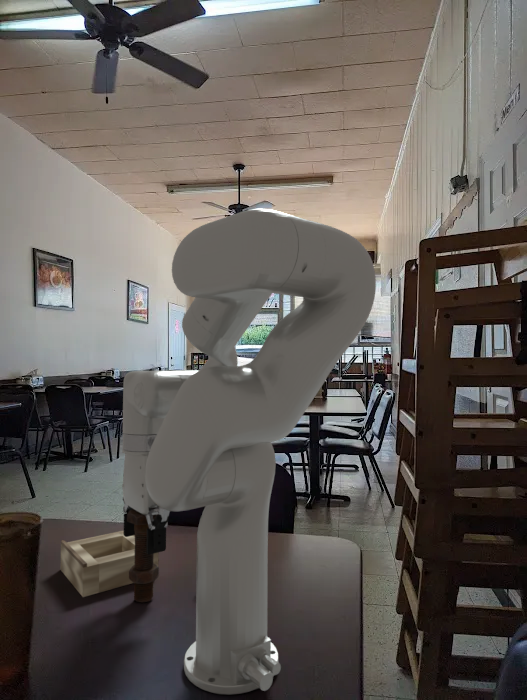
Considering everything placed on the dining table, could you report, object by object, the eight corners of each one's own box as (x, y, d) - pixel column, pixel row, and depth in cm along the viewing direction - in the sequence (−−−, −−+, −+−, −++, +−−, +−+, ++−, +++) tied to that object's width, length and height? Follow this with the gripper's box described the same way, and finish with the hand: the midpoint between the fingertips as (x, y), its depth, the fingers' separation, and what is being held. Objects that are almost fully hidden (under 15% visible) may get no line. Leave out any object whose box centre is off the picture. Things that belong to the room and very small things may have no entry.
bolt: (150, 609, 80) (151, 516, 80) (121, 606, 81) (122, 514, 81) (164, 593, 85) (165, 506, 86) (137, 590, 86) (138, 504, 87)
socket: (158, 575, 92) (158, 546, 92) (82, 597, 84) (83, 564, 84) (129, 552, 103) (129, 526, 103) (60, 569, 95) (60, 540, 95)
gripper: (189, 447, 79) (187, 554, 79) (145, 434, 93) (143, 525, 92) (145, 452, 75) (144, 565, 74) (106, 438, 88) (104, 533, 88)
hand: (143, 543), depth 83 cm, fingers open, 9 cm apart
